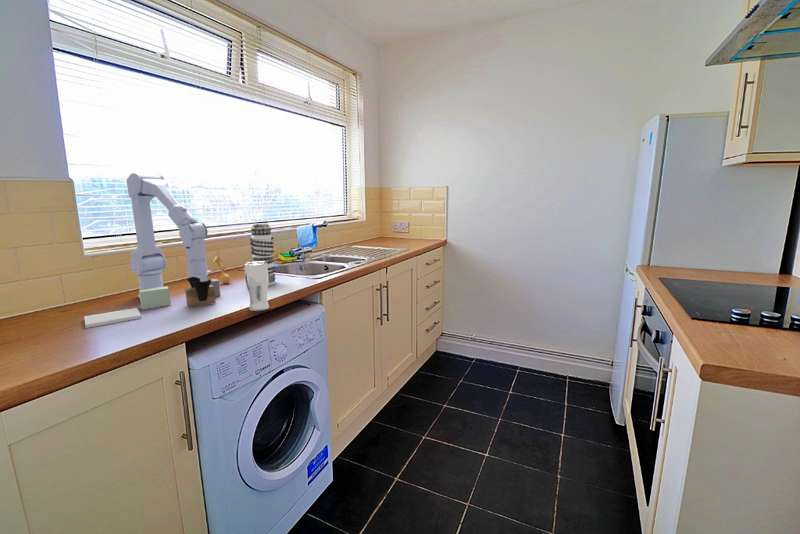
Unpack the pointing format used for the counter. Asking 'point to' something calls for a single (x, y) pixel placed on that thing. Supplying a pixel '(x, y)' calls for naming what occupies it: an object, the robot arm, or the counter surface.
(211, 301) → the walnut brick
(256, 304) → the beer glass
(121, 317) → the white mat
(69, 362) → the counter surface
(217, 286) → the grey brick
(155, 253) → the robot arm
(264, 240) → the decorative candle
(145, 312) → the counter surface
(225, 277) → the figurine
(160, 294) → the sage brick
